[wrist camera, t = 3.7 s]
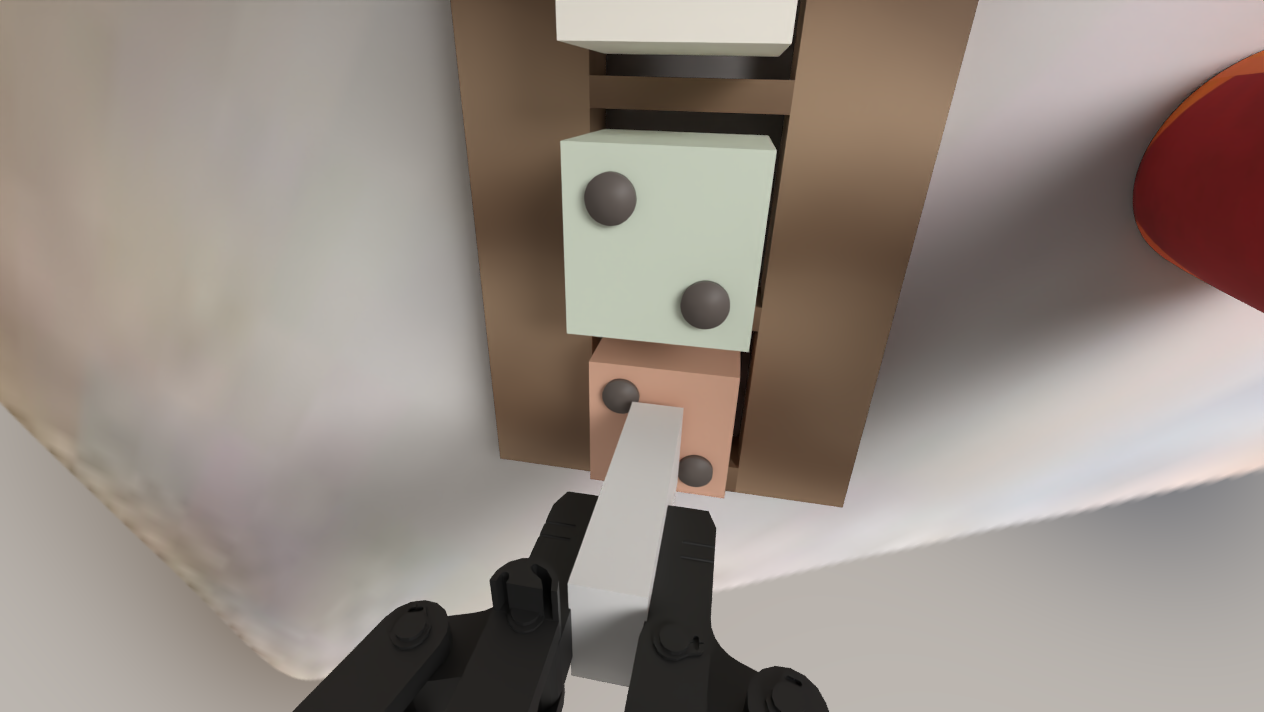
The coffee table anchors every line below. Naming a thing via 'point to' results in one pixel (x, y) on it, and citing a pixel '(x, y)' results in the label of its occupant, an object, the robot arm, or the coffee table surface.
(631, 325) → the tile two
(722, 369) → the tile three
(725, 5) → the tile one
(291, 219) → the coffee table surface
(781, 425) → the tile board
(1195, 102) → the coffee cup
